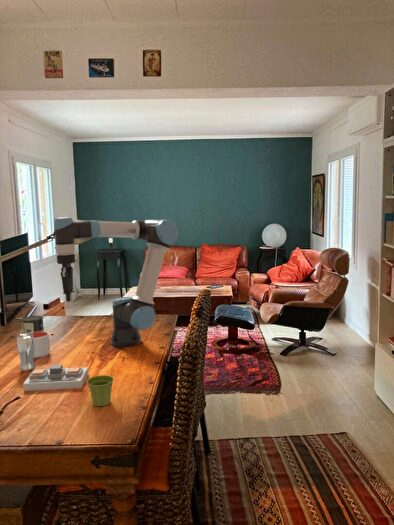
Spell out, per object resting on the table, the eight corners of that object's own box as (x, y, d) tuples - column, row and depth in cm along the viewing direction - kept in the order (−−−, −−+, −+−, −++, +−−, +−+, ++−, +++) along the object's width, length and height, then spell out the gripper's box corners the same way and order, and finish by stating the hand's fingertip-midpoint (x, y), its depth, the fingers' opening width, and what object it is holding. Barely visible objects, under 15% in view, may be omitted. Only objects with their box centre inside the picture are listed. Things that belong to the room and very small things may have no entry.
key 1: (45, 372, 181) (45, 369, 181) (42, 376, 177) (42, 372, 177) (35, 373, 181) (35, 369, 181) (32, 377, 177) (32, 373, 177)
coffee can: (44, 340, 234) (42, 314, 232) (45, 346, 225) (43, 319, 223) (24, 343, 231) (21, 316, 229) (23, 349, 221) (21, 321, 219)
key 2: (80, 371, 182) (80, 367, 181) (78, 374, 178) (78, 371, 178) (70, 371, 181) (70, 367, 181) (68, 375, 178) (67, 371, 177)
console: (88, 374, 187) (87, 363, 187) (81, 388, 173) (80, 377, 173) (34, 376, 186) (34, 366, 185) (23, 391, 172) (22, 380, 172)
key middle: (62, 368, 181) (62, 364, 181) (60, 372, 177) (59, 368, 177) (52, 368, 181) (52, 364, 181) (50, 372, 177) (49, 368, 177)
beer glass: (20, 372, 191) (17, 339, 189) (18, 367, 197) (15, 334, 195) (37, 369, 194) (34, 336, 192) (35, 364, 200) (32, 332, 198)
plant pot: (103, 395, 167) (102, 372, 165) (120, 401, 161) (119, 378, 159) (82, 404, 159) (81, 381, 158) (99, 411, 154) (98, 387, 152)
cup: (43, 359, 207) (41, 338, 205) (23, 358, 209) (21, 337, 207) (54, 351, 216) (52, 332, 215) (35, 351, 218) (33, 331, 217)
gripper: (60, 252, 196) (64, 304, 199) (52, 256, 183) (57, 312, 186) (77, 251, 196) (81, 304, 199) (71, 255, 183) (75, 311, 187)
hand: (69, 307), depth 193 cm, fingers closed
